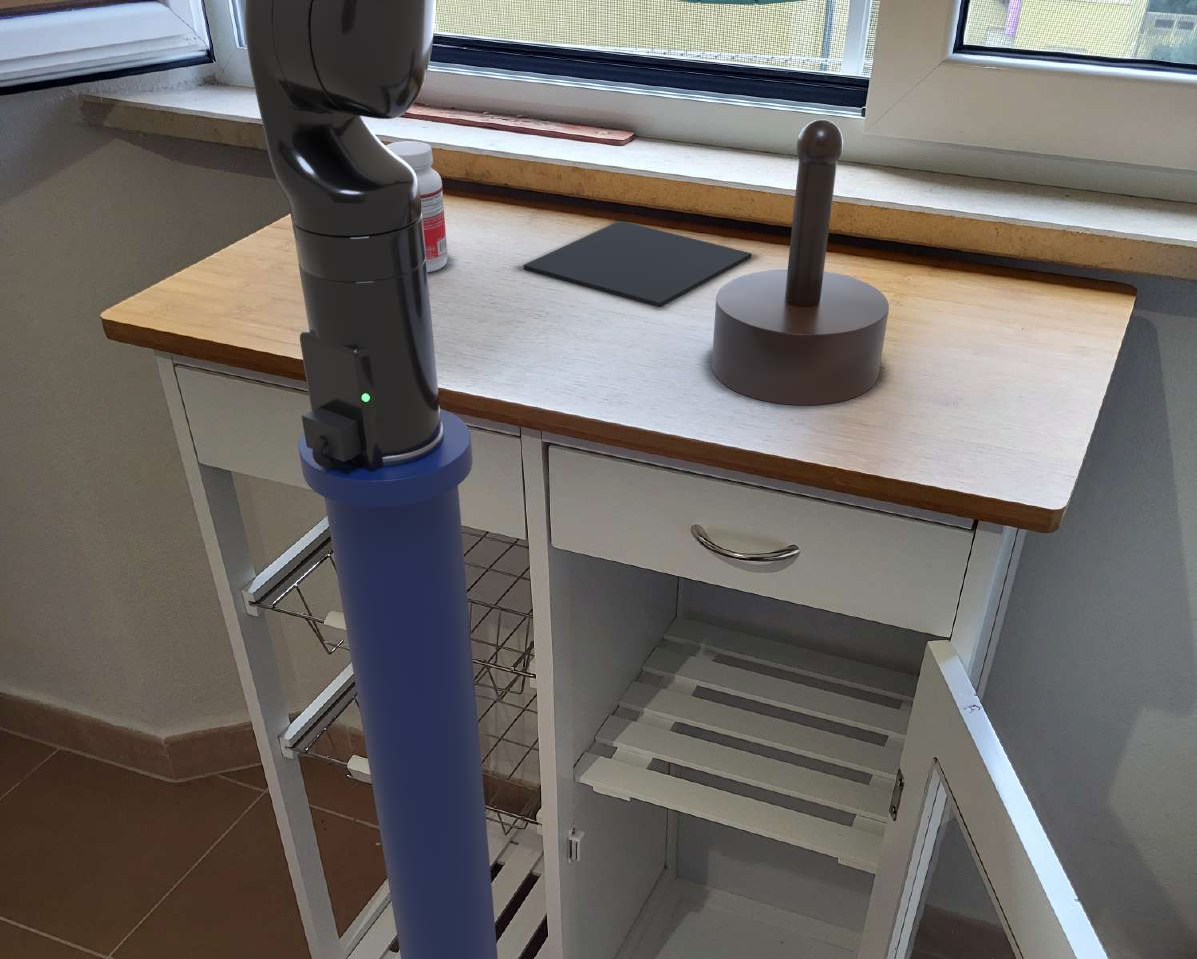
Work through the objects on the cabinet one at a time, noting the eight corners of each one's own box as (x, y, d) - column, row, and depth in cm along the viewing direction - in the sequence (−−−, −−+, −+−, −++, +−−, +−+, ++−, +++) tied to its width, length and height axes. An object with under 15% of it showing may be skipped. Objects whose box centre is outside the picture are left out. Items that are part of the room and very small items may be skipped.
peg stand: (827, 421, 101) (863, 159, 88) (679, 375, 107) (691, 125, 94) (906, 361, 110) (950, 115, 96) (765, 322, 116) (788, 86, 103)
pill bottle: (380, 259, 128) (366, 143, 121) (435, 250, 130) (425, 135, 123) (400, 279, 124) (388, 160, 117) (457, 269, 126) (448, 151, 119)
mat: (659, 307, 119) (660, 303, 119) (523, 268, 126) (523, 264, 126) (751, 257, 129) (751, 253, 129) (620, 224, 136) (620, 220, 136)
